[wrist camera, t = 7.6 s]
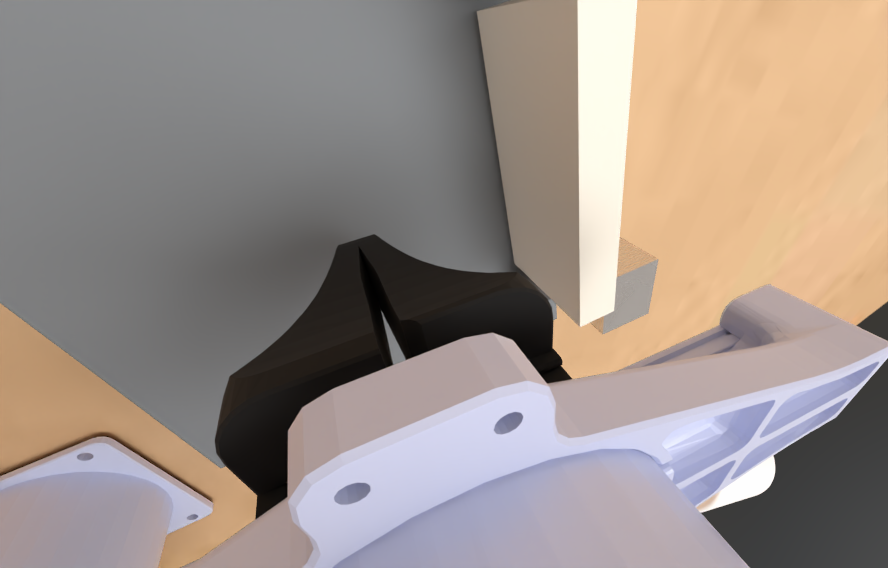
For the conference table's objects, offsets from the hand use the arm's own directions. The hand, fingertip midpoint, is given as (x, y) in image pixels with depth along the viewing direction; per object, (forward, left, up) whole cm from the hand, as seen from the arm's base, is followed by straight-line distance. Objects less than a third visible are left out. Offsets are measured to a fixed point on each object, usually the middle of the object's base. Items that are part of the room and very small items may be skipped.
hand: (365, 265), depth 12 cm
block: (+7, 0, -2) cm, 8 cm away
